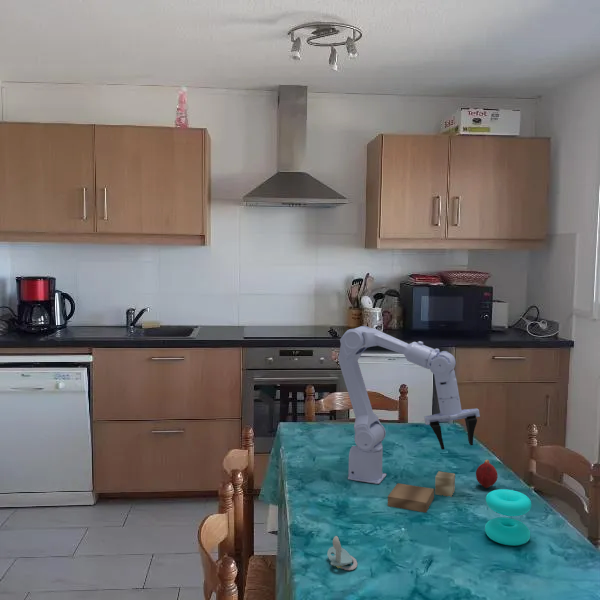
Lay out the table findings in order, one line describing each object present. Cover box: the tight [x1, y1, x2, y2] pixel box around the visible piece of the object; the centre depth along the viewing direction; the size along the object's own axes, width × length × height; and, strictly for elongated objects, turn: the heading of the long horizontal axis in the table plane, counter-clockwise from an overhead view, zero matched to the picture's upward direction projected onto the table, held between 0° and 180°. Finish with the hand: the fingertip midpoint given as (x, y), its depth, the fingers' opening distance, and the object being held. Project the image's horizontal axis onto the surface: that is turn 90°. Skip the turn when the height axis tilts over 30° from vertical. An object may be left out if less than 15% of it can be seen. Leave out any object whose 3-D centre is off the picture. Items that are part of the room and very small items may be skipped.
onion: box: [475, 459, 499, 489], centre depth 172 cm, size 6×6×8 cm
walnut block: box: [387, 483, 435, 513], centre depth 163 cm, size 10×10×3 cm
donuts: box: [484, 488, 532, 546], centre depth 142 cm, size 10×10×10 cm
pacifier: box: [326, 535, 358, 571], centre depth 130 cm, size 7×6×6 cm
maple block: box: [434, 470, 456, 498], centre depth 169 cm, size 4×4×5 cm
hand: (456, 446), depth 167 cm, fingers open, 7 cm apart
